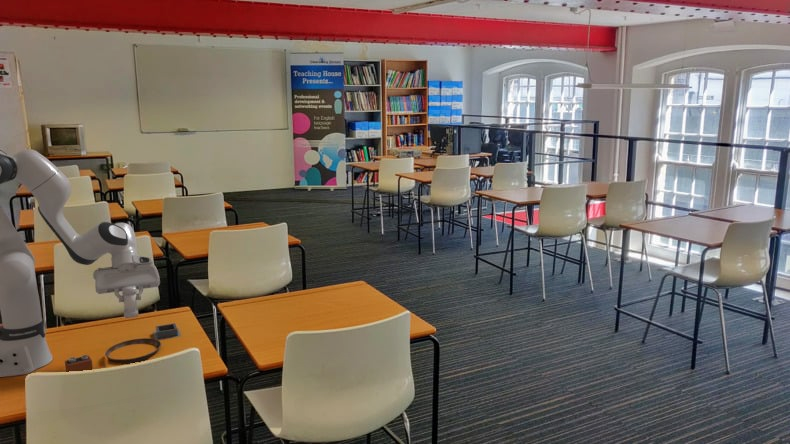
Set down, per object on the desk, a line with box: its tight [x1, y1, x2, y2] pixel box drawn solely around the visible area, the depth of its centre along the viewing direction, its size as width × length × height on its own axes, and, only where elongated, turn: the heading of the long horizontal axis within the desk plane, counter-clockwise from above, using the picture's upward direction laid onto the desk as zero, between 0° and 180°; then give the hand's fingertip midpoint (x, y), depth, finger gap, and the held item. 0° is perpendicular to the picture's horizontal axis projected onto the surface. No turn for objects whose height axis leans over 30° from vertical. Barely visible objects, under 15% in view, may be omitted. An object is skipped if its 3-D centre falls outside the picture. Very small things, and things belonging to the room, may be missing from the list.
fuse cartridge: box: [121, 286, 139, 319], centre depth 201 cm, size 4×4×10 cm
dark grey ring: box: [105, 337, 162, 365], centre depth 204 cm, size 18×18×3 cm
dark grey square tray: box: [152, 322, 182, 341], centre depth 220 cm, size 9×9×4 cm
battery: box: [64, 354, 94, 373], centre depth 180 cm, size 4×7×10 cm, turn 127°
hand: (130, 300), depth 201 cm, fingers closed on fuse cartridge, 4 cm apart
